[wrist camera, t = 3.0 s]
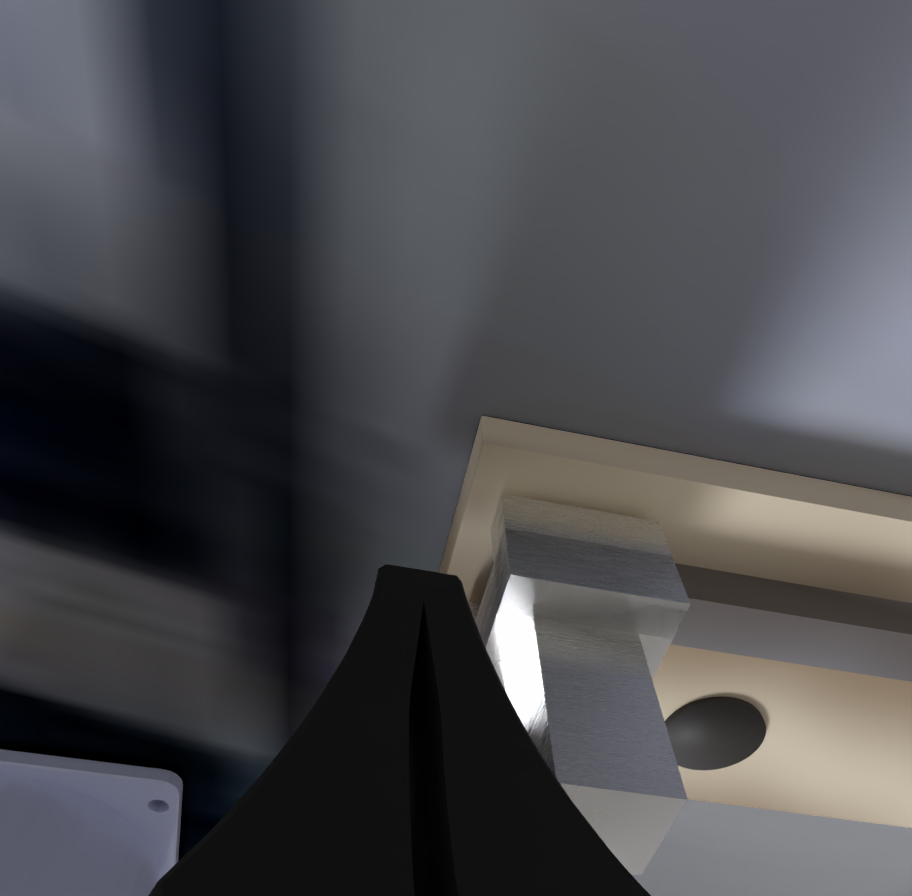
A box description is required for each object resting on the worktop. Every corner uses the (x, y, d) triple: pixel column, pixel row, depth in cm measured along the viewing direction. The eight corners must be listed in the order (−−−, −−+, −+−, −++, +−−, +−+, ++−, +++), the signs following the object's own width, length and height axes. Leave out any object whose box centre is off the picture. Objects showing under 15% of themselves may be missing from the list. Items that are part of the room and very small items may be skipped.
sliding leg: (551, 759, 18) (587, 1018, 13) (424, 742, 17) (418, 1002, 13) (658, 521, 14) (755, 767, 10) (500, 493, 14) (528, 737, 9)
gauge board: (1099, 821, 22) (1155, 893, 20) (396, 726, 19) (391, 799, 17) (1360, 581, 17) (1462, 649, 15) (481, 415, 15) (486, 473, 13)
